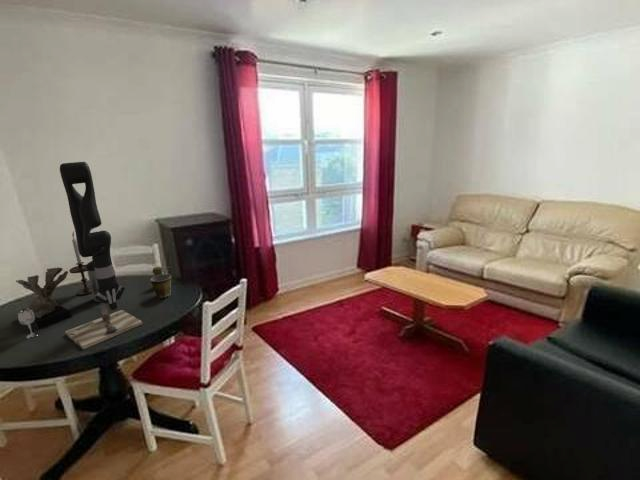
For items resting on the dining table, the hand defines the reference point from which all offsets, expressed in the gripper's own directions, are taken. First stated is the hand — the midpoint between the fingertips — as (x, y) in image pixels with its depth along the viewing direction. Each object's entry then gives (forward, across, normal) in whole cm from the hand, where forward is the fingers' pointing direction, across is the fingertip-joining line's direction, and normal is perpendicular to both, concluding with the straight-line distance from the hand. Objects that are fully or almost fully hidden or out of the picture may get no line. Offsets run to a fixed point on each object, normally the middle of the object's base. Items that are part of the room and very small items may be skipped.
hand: (113, 309), depth 168 cm
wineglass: (+5, +29, -14) cm, 33 cm away
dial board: (+5, +7, +6) cm, 10 cm away
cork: (+6, -31, -23) cm, 39 cm away
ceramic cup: (+6, -26, -9) cm, 28 cm away
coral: (+6, +19, -32) cm, 37 cm away
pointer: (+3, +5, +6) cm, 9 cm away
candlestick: (+6, -1, -48) cm, 49 cm away
